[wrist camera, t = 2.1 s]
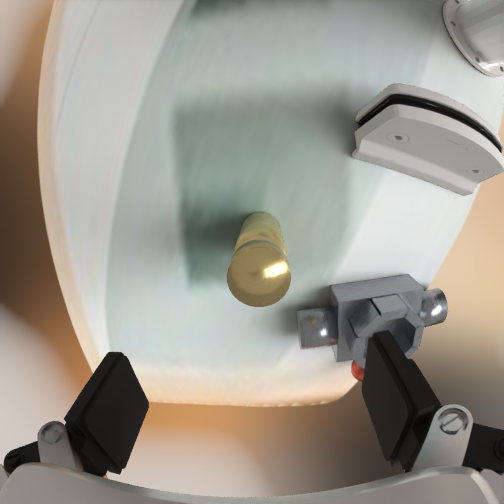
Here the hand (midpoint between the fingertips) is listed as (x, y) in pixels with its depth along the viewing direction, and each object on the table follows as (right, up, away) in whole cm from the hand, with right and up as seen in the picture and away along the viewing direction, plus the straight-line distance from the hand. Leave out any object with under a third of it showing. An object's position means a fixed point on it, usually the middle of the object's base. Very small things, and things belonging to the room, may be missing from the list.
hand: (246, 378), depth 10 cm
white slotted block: (+19, +17, +16) cm, 30 cm away
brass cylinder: (+1, +7, +19) cm, 21 cm away
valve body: (+15, -4, +22) cm, 27 cm away
